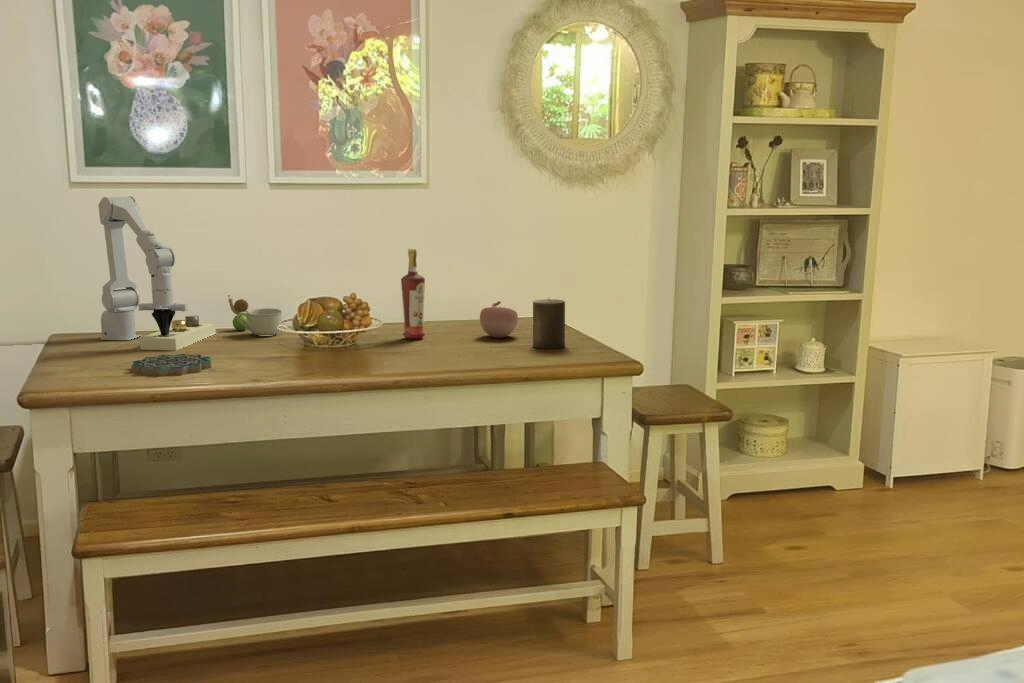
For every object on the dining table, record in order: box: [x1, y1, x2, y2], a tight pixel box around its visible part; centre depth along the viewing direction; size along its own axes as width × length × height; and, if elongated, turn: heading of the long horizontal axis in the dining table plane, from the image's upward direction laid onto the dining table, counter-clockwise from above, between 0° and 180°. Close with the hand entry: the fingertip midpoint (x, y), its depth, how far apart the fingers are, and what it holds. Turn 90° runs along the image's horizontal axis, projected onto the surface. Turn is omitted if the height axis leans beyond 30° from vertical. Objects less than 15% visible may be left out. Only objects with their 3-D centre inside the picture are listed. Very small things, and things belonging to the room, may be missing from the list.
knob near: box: [158, 334, 172, 337], centre depth 286 cm, size 4×4×3 cm
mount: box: [139, 323, 217, 351], centre depth 295 cm, size 11×27×4 cm, turn 173°
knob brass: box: [171, 319, 186, 332], centre depth 294 cm, size 4×4×3 cm
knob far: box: [184, 315, 200, 327], centre depth 303 cm, size 4×4×3 cm
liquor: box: [400, 248, 426, 341], centre depth 298 cm, size 7×7×28 cm
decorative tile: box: [131, 353, 212, 377], centre depth 257 cm, size 20×20×2 cm
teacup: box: [237, 307, 283, 336], centre depth 306 cm, size 14×11×8 cm
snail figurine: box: [227, 294, 249, 331], centre depth 314 cm, size 5×6×12 cm
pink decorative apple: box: [479, 300, 519, 339], centre depth 302 cm, size 12×12×12 cm
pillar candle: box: [532, 298, 566, 350], centre depth 287 cm, size 10×10×15 cm
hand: (165, 334), depth 286 cm, fingers closed, pressing on knob near
